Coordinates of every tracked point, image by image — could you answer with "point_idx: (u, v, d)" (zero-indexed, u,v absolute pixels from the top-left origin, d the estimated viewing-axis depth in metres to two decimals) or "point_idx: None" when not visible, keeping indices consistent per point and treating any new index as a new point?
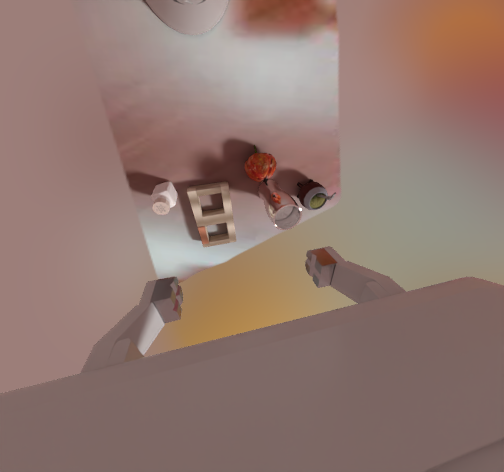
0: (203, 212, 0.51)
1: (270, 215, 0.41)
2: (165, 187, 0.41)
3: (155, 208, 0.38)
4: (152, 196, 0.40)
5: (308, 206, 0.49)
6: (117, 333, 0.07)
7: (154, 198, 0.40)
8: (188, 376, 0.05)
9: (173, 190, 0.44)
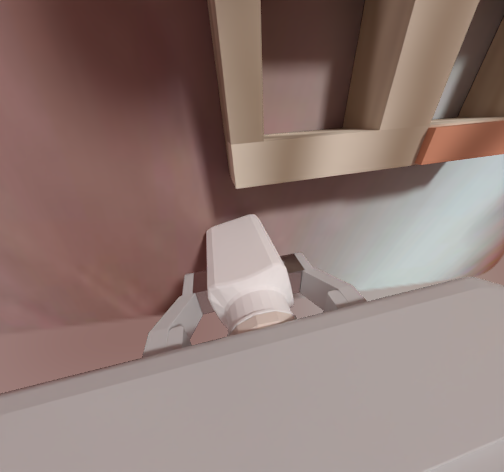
0: (351, 122, 0.11)
1: None
2: None
3: None
4: None
5: None
6: (168, 321, 0.08)
7: None
8: (188, 376, 0.05)
9: (231, 234, 0.11)
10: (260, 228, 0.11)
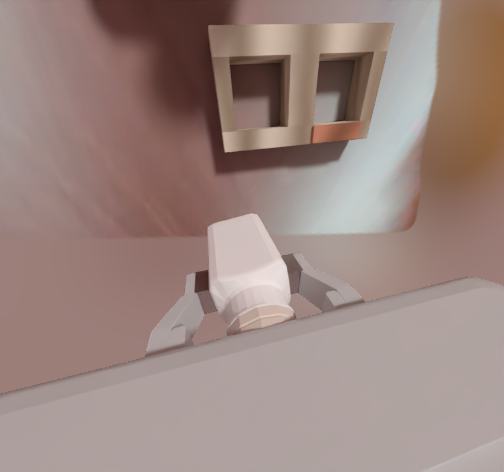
0: (281, 123, 0.23)
1: None
2: (208, 267, 0.10)
3: None
4: None
5: None
6: (170, 321, 0.08)
7: None
8: (188, 376, 0.05)
9: (233, 231, 0.12)
10: (261, 227, 0.12)
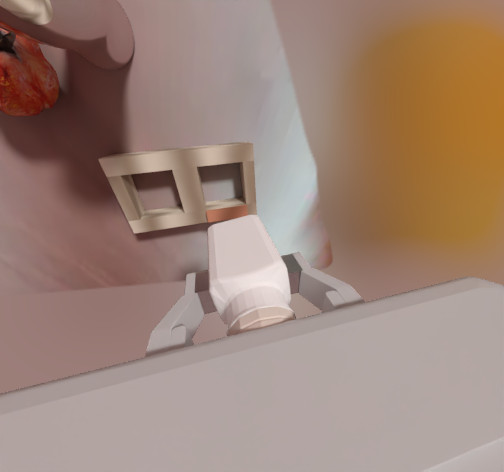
0: None
1: (2, 18, 0.09)
2: (208, 268, 0.10)
3: None
4: None
5: None
6: (171, 321, 0.08)
7: None
8: (188, 376, 0.05)
9: (233, 232, 0.12)
10: (262, 228, 0.12)
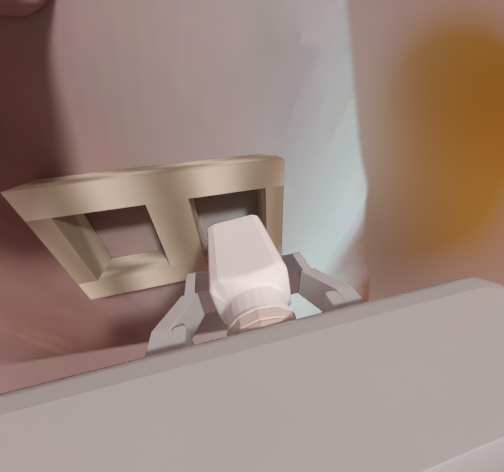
0: None
1: None
2: (208, 268, 0.10)
3: None
4: None
5: None
6: (171, 321, 0.08)
7: None
8: (188, 376, 0.05)
9: (234, 232, 0.12)
10: (262, 228, 0.12)
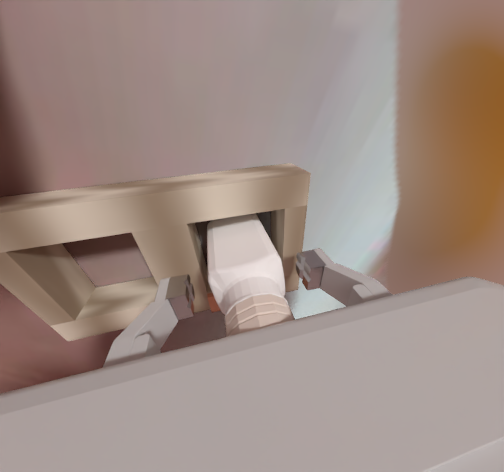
0: None
1: None
2: (207, 261, 0.11)
3: None
4: None
5: None
6: (135, 329, 0.08)
7: None
8: (188, 376, 0.05)
9: (231, 227, 0.12)
10: (258, 224, 0.12)
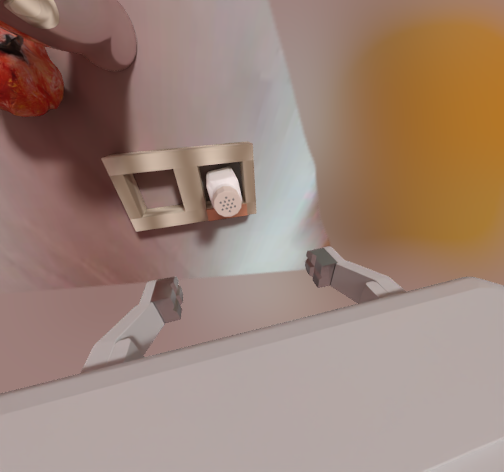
0: None
1: (14, 24, 0.09)
2: (206, 183, 0.24)
3: (226, 212, 0.21)
4: None
5: None
6: (117, 333, 0.07)
7: None
8: (188, 376, 0.05)
9: (218, 171, 0.26)
10: (231, 170, 0.25)
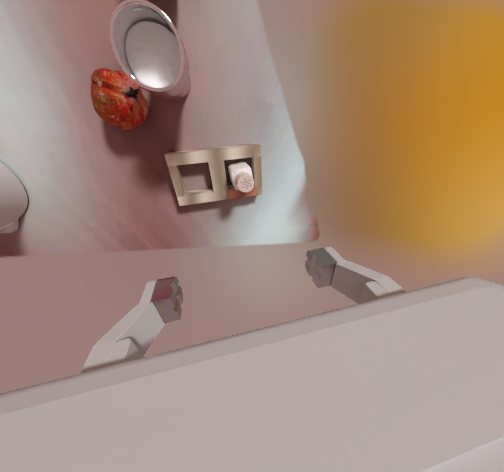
0: (213, 187, 0.40)
1: (162, 94, 0.21)
2: (229, 171, 0.36)
3: (244, 189, 0.33)
4: (235, 188, 0.36)
5: None
6: (117, 333, 0.07)
7: (237, 187, 0.36)
8: (188, 376, 0.05)
9: (236, 164, 0.38)
10: (245, 163, 0.38)
